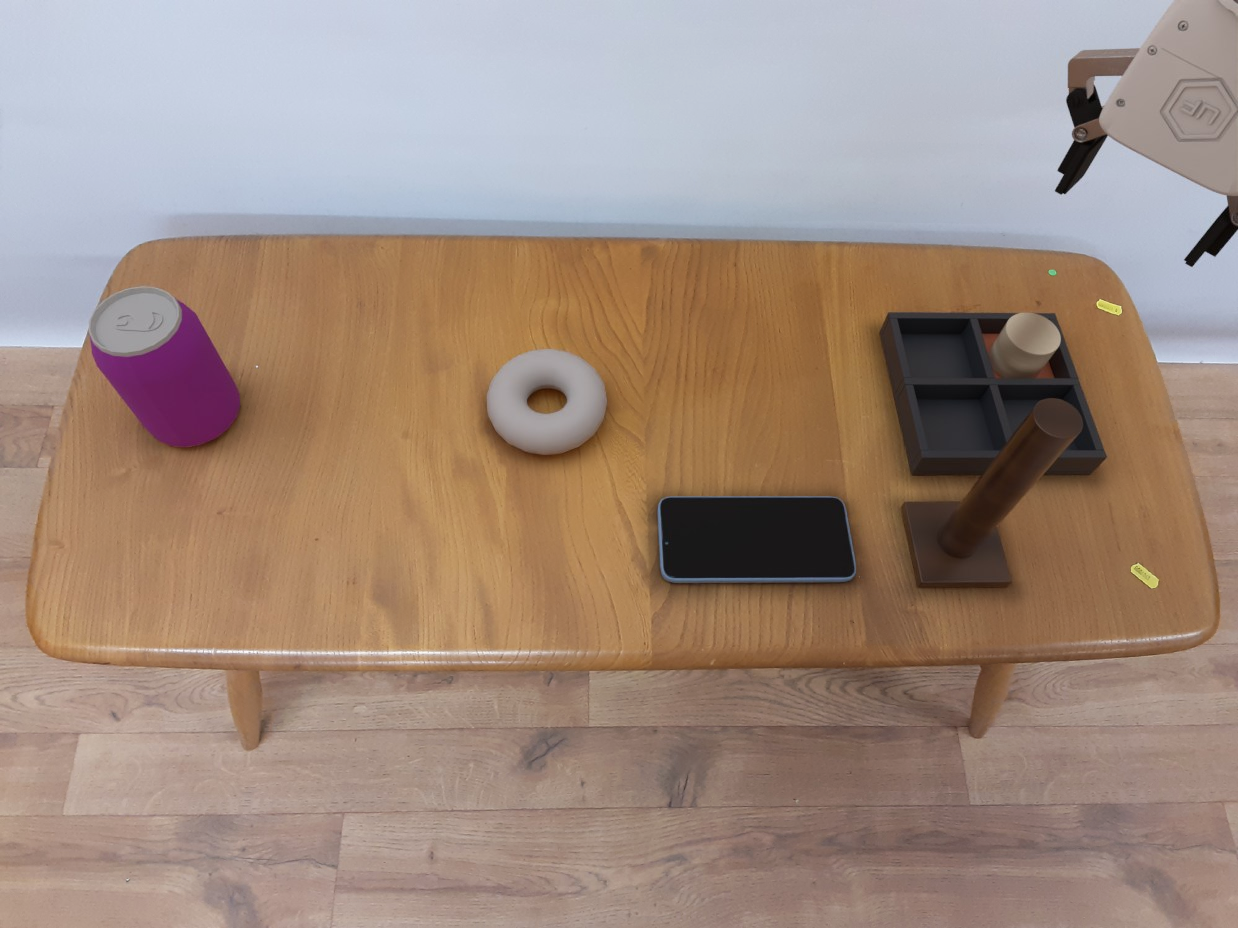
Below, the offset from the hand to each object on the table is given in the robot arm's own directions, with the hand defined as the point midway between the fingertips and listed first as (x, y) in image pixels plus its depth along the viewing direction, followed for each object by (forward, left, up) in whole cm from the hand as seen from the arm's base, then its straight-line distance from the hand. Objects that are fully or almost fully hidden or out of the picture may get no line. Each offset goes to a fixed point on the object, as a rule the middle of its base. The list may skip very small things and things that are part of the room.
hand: (1130, 218), depth 62 cm
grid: (+1, +4, -19) cm, 20 cm away
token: (+1, -1, -19) cm, 19 cm away
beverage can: (+46, +53, -19) cm, 73 cm away
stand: (-5, +18, -19) cm, 27 cm away
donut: (+26, +32, -19) cm, 46 cm away
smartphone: (+6, +28, -19) cm, 35 cm away
